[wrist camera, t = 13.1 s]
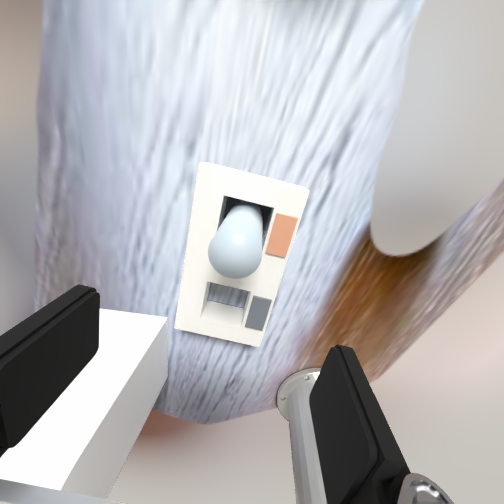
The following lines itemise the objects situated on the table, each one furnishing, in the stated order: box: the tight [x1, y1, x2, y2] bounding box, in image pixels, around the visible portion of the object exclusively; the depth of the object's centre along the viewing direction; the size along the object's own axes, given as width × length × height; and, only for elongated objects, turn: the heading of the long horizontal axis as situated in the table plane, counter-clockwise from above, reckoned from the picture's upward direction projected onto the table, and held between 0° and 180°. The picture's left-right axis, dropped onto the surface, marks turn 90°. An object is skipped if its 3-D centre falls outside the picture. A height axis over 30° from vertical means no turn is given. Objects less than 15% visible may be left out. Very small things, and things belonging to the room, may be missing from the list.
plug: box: [208, 200, 263, 279], centre depth 24 cm, size 4×4×12 cm
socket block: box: [174, 162, 310, 347], centre depth 29 cm, size 20×11×4 cm, turn 166°
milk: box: [0, 309, 168, 499], centre depth 25 cm, size 12×12×26 cm
